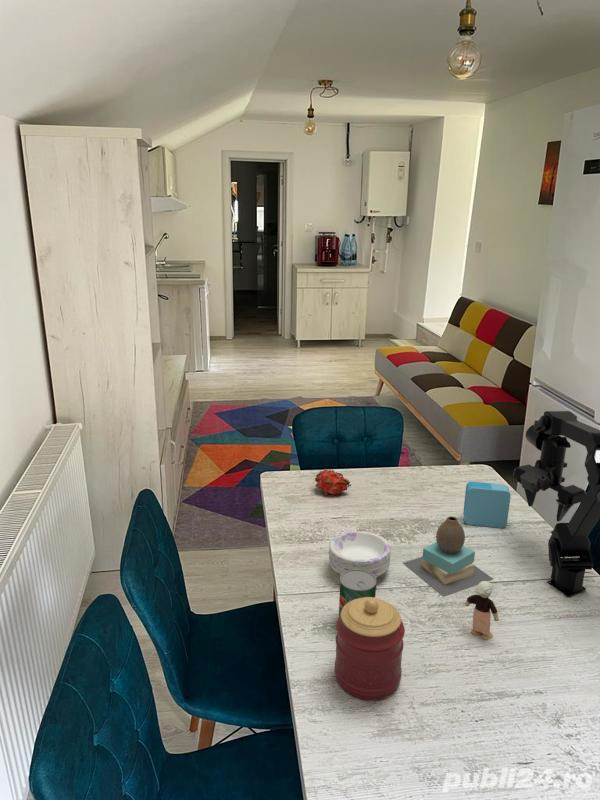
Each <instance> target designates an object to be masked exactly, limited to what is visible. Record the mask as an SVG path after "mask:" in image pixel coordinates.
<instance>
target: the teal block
mask: <svg viewBox="0 0 600 800" xmlns="http://www.w3.org/2000/svg"><path fill="white" fill-rule="evenodd" d="M422 556H423V558H422V559H424V560H425V561H427V562H429V563H431V564H433V565H435V566H436V567H438V568H440V569H442V570H444V571H445V572H447V573H449V574H451V575H452V574H454V573H456V572H458V571H459V570H461V569H463V568H464V567H466V566H468V565H470V564H471V563H472V564H474V563H475V556H476V550H473V549H471V548H469V547H466V546H465V545H463V547H462V549H461V550H460V551H459V552H457V553H455V554H447V553H445V552H443V551H442V550H441V549H440V548H439V547H438V545H437V541H435V542H433V543H431V544H429V545H427V546H426V547H423V548H422Z"/></svg>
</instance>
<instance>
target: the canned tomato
mask: <svg viewBox="0 0 600 800" xmlns="http://www.w3.org/2000/svg"><path fill="white" fill-rule="evenodd" d="M339 581H340V582H339V603H338V605H339V606H338V616H339V615H340V614H341V611H342V609H343V607H344V606H345V605H346V604H347V603H348V602H350V601H352V600H355V599H358V598H363V597H374V598H376V595H377V594H376V591H377V578H375V576H374V575H373V574H371V573H370V572H368V571H365V570H359V569H353V570H348V571H346V572H344V573H343V574H342V575H340V576H339Z"/></svg>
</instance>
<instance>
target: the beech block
mask: <svg viewBox="0 0 600 800" xmlns="http://www.w3.org/2000/svg"><path fill="white" fill-rule="evenodd" d="M421 557H422V558H423V555H421ZM474 565H475V564H474V563H471V564H470V565H468V566H466V567H464V568H463V569H461V570H459V571H458V572H456V573H454V574H452V575H451V574H449V573H447V572H445V571H444V570H442V569H440V568H438V567H436V566H435V565H433V564H431V563H429V562H427V561H425V560H424V559H422V567H423V568H424V569H426V570H427V571H428V572H429V573H431V574H432V575H433V576H434V577H436V578H437V579H438V580H439V581H441V582H442V583H443V584H444V585H446V584H449V583H452V582H455V581H458V580H461V579H464V578H467V577H470V576H473V571H474Z"/></svg>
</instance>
